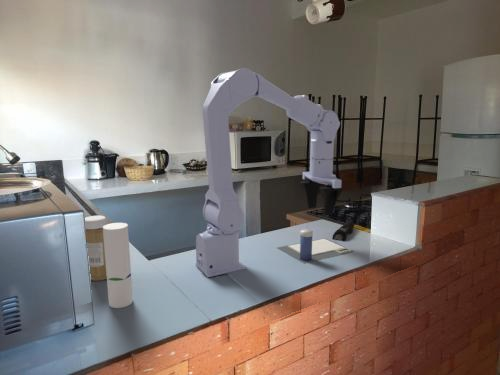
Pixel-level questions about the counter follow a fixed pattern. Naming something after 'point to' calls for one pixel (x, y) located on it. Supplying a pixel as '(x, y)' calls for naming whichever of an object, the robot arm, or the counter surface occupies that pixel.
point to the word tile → (343, 250)
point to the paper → (319, 246)
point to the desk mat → (314, 257)
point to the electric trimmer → (343, 231)
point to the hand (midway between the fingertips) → (319, 210)
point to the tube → (118, 264)
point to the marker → (306, 244)
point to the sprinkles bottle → (96, 246)
